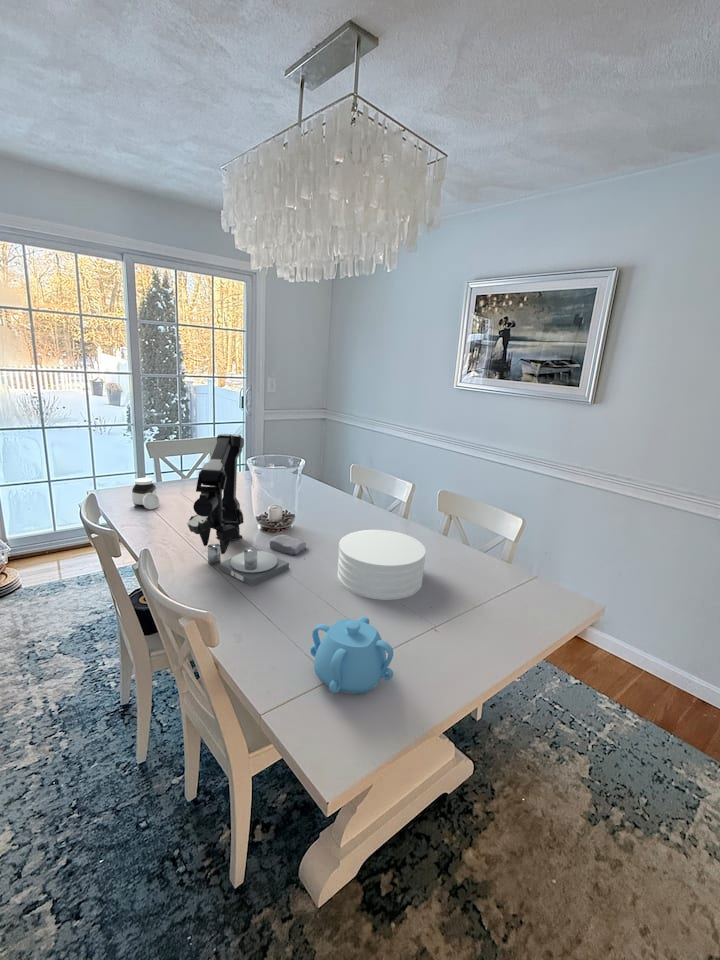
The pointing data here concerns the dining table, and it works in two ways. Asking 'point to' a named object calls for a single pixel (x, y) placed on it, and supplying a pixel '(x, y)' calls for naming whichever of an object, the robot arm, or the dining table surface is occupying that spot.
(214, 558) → the cylinder
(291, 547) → the stone block
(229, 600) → the dining table surface
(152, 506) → the spread jar
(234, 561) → the scale
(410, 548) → the plate stack
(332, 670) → the decorative pot
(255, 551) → the cylinder
